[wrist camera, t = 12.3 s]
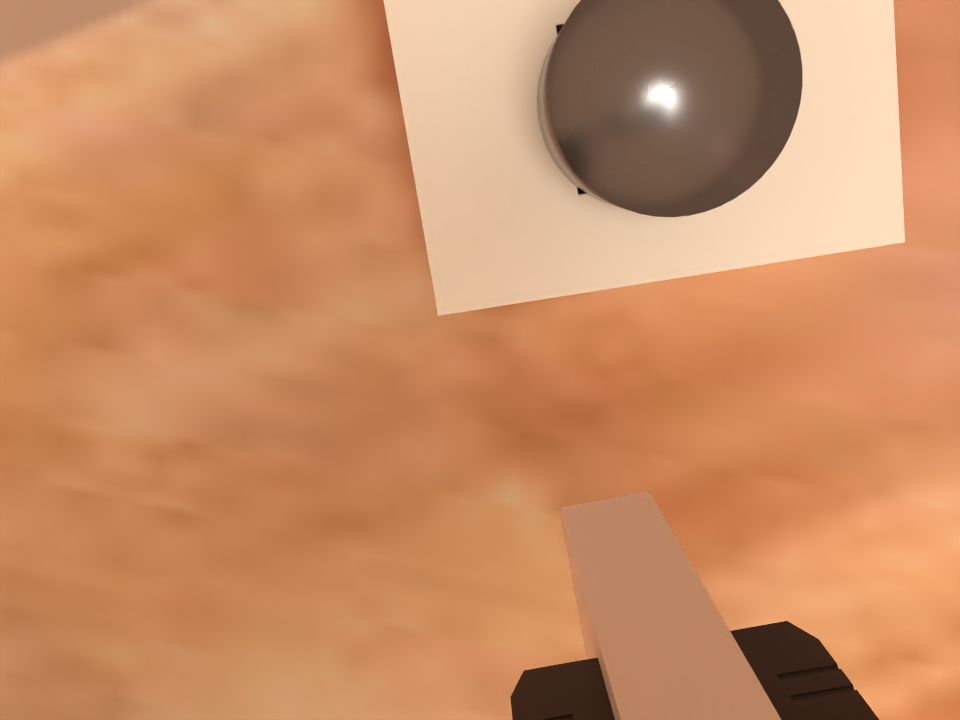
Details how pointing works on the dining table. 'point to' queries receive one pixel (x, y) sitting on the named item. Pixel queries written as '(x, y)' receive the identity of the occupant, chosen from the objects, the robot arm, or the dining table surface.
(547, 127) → the pin
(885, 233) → the block
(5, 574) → the dining table surface
